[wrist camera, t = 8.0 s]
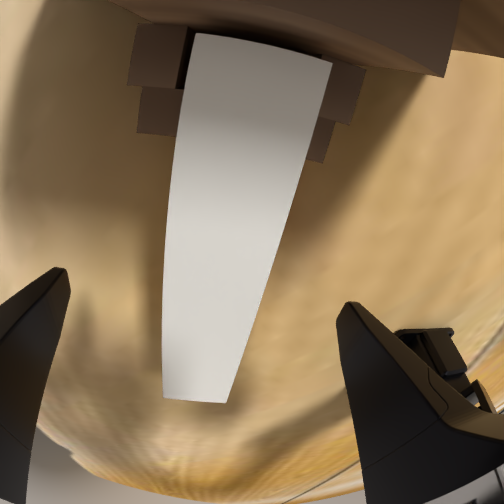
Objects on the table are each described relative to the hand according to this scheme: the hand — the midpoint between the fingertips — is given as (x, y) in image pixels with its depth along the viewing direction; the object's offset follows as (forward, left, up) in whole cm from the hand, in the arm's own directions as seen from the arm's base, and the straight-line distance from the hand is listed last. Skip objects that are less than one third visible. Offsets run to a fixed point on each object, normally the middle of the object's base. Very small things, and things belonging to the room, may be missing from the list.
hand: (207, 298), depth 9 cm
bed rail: (0, 0, -5) cm, 5 cm away
